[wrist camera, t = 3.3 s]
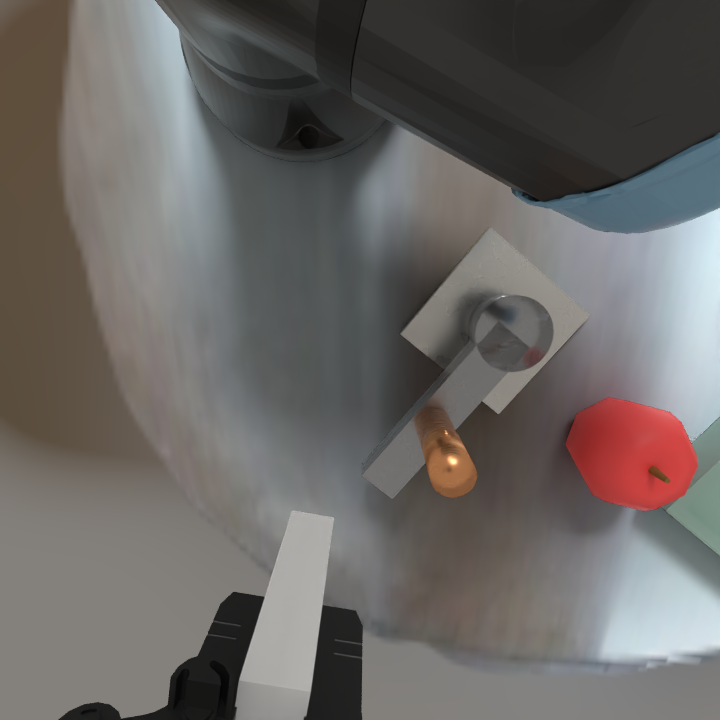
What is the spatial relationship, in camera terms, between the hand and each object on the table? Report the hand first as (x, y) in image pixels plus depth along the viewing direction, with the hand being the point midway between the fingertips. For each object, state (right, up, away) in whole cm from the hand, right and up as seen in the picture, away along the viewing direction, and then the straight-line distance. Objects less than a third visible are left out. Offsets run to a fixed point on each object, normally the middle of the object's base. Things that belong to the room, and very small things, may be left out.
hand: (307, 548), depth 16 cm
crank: (+8, +4, +16) cm, 19 cm away
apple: (+21, +1, +21) cm, 30 cm away
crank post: (+12, +9, +19) cm, 24 cm away
